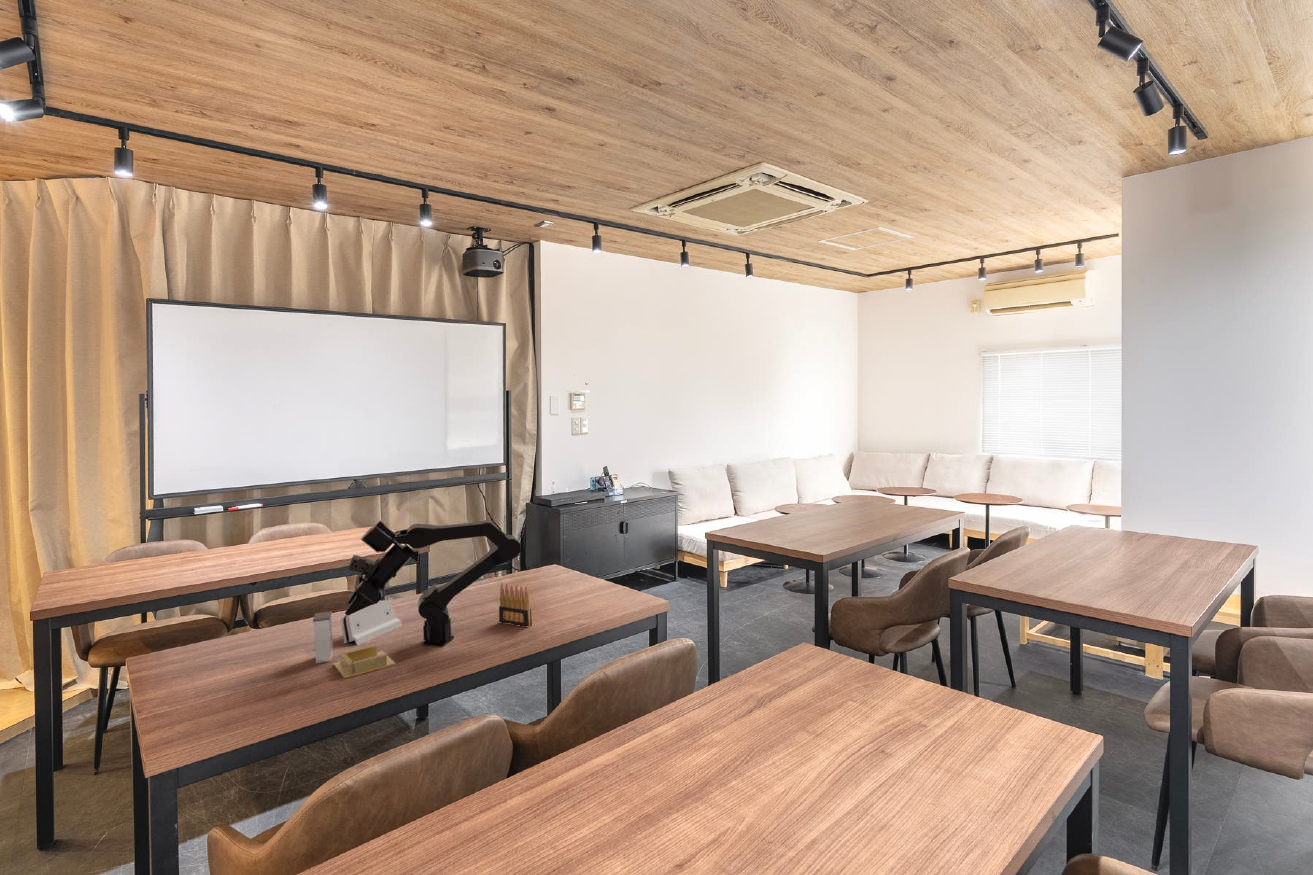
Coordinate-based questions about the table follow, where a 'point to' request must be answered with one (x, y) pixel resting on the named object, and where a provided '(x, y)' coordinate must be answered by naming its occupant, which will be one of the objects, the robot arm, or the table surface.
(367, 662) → the strike pocket
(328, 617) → the bar
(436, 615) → the robot arm
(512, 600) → the ammunition clip
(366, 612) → the white rounded housing
